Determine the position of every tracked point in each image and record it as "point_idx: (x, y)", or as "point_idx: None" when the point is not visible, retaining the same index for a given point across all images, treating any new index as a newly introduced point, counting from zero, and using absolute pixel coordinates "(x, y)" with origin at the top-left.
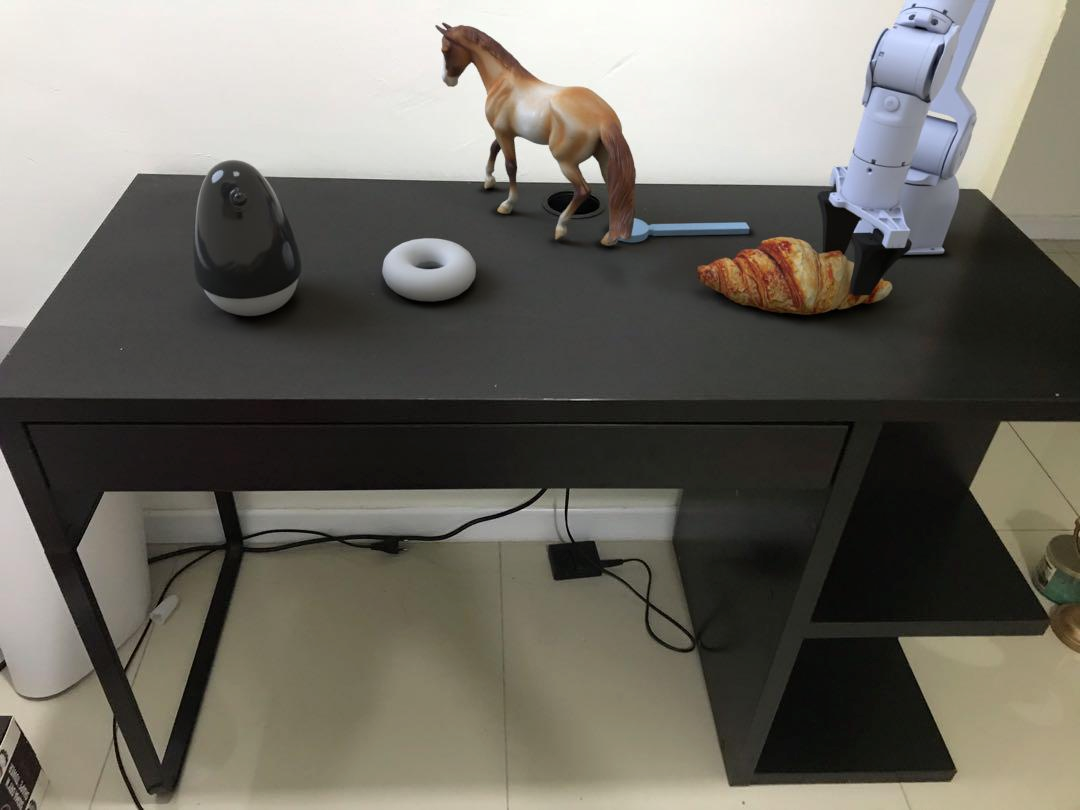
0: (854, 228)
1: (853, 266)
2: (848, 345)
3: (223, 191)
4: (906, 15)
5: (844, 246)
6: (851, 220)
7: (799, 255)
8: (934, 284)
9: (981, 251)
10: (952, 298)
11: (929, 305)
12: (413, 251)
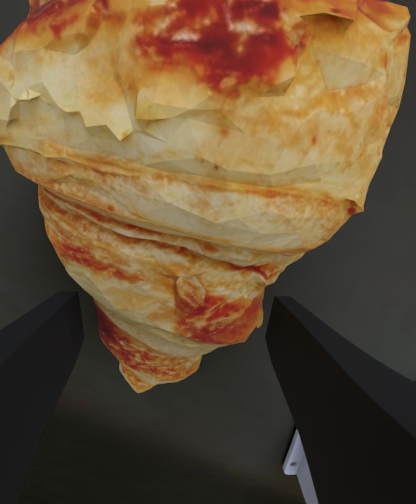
0: (300, 437)
1: (155, 347)
2: None
3: None
4: None
5: (277, 364)
6: (322, 463)
7: (108, 112)
8: (204, 433)
9: (276, 499)
10: (159, 440)
11: (140, 409)
12: None
